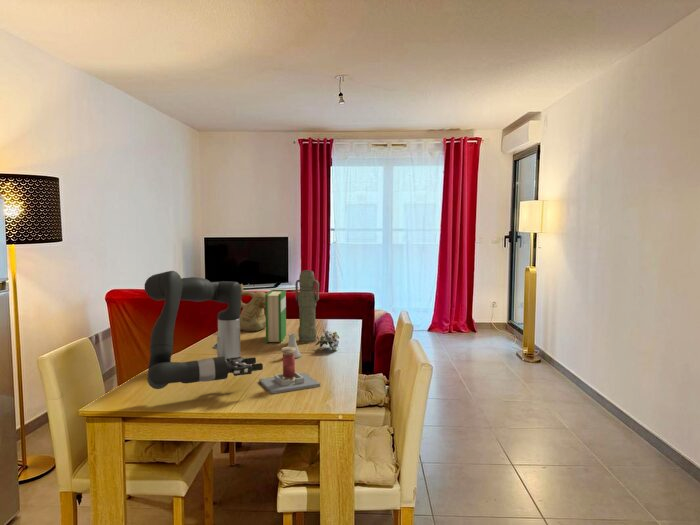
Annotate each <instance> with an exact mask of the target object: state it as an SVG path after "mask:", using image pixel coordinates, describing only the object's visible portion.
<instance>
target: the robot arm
mask: <svg viewBox="0 0 700 525" xmlns="http://www.w3.org/2000/svg"><path fill="white" fill-rule="evenodd" d="M144 291H145V294H147V296H148V297H149V298H150V299H152V300H154V301H163V300H164V304H163V307H162V309H161V312H160V315H159V316H158V318H157V319H156V322H155V323H154V325H153V328H152V330H151V334H150V341H149V342H150V344H149V360H148V361H149V364H148V370H147V378H146V379H147V383H148V385H149V386H150V387H151V388H152V389H155V390H161V389H164V388H166V387H167V386H168V385H170V384H175V383H176V384H177V383H181V384H192V383H204V382H205V383H207V382H214V381H220V380H226V379H227V378H228V374H233V377H236V376H244V375H251V374H252V372H257V371H258V372H259V371H262V370H263V369H264V365H263V363H261V362H260V363H257V358H256V357H242V355H241V328H240V315H241V312H242V308H241V301H242V297H241V287H240V283H239V282H238V281H228V280H227V281H226V280H225V281H224V280H221V281H210V280H208V279H207V278H203V277H197V276H193V277H192V276H191V277H190V276H189V277H183V278H182V276H181V275H180V274H179V273H178V272H177V271H175V270H168V271H164V272H160V273H156V274H152V275H151V276H148V278H147V279H146V280H145V283H144ZM181 301H191V302H206V301H213V302H217V303H222V304H227V308H226V309H224V310H221V311H219V312H217V338H216V343H217V348H216V353H217V354H216V355H217V356H216V357H210V358H203V359H199V360H190V361H184V362H179V361H171V359H172V354H173V350H174V332H175V326H176V325H175V324H176V319H177V316H178V311H179V309H180V308H179V307H180V302H181Z"/></svg>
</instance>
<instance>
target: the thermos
mask: <svg viewBox="0 0 700 525" xmlns="http://www.w3.org/2000/svg"><path fill="white" fill-rule="evenodd" d="M315 276H316V275H315V273H314V271H313V270H311V269H308V270H307V269H305V270H302V271H300V273H299V279H297V280H296V281H295V283H294V285H295V301H297V303H298V305H297V306H298V307H299V311H298V312H299V315H298V317H299V327H298V331H297V332H298V341H300V342H299V343H302V342H304V344H310V343H309V342H312V343H316V342H317V336H318V335H317V326H316V307H317V302H318V301H319V300H320V282H319V280H317V279H316V277H315ZM315 288H316V289H315ZM315 341H316V342H315Z"/></svg>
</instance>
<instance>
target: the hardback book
mask: <svg viewBox="0 0 700 525" xmlns="http://www.w3.org/2000/svg"><path fill="white" fill-rule="evenodd" d="M286 290H287V289H271V290H269V291H267V292H266V294H265V308H264V313H265V317H266V327H265V344H269V343H278V344H282V343H283V342H284V340H285V338H286V337H285V336H287V298H286V297H287V296H286V295H287V291H286ZM283 339H284V340H283ZM268 342H269V343H268ZM281 342H282V343H281Z"/></svg>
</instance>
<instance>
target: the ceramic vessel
mask: <svg viewBox="0 0 700 525" xmlns="http://www.w3.org/2000/svg"><path fill="white" fill-rule="evenodd" d="M239 284H240V283H239ZM243 285H244V284H243V283H241V284H240V287H241V298H243V297H245V296H248V297H251V298H252V299H251V300H250V301H249V302H247V303H245V302H243V301H242V300H241V312H240V331H243V330H244V331H245V332H259V331H261V329H262V330H263V329H266V314H265V294H267V292H265V291H262V290H259V291H257V292H254V291H249V290H244V286H243ZM244 331H243V332H244Z"/></svg>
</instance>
